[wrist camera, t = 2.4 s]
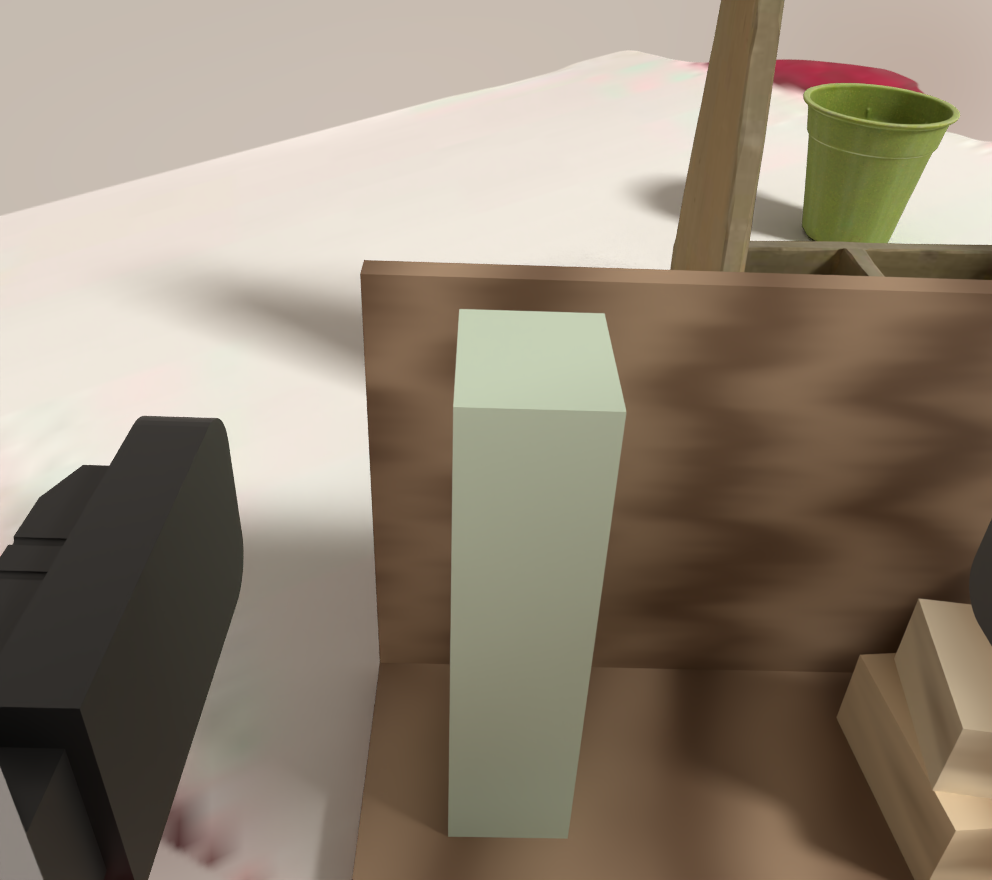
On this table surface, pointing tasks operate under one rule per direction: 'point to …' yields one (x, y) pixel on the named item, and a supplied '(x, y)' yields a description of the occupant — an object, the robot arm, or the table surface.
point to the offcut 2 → (911, 780)
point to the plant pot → (866, 157)
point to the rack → (690, 559)
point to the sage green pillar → (527, 560)
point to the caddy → (736, 166)
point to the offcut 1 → (949, 695)
